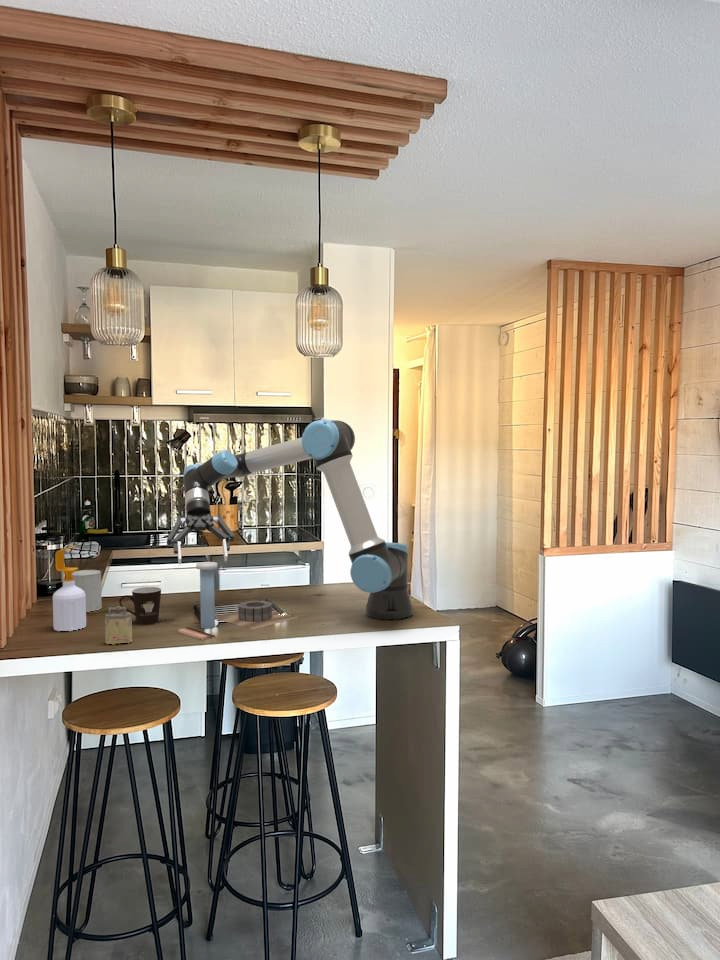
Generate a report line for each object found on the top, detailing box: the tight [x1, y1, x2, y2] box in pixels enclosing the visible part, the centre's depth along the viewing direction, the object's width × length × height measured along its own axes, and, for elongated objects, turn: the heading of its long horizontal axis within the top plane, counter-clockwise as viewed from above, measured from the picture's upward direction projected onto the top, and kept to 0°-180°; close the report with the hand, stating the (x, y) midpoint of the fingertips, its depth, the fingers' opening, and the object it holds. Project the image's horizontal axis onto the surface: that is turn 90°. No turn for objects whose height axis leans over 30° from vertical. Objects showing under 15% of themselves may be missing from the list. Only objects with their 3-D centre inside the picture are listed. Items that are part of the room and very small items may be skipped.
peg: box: [195, 561, 219, 630], centre depth 204 cm, size 6×6×19 cm
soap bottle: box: [52, 545, 87, 632], centre depth 208 cm, size 9×9×25 cm
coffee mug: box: [118, 586, 162, 626], centre depth 215 cm, size 12×9×10 cm
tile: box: [178, 626, 216, 641], centre depth 205 cm, size 12×12×1 cm
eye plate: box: [215, 600, 300, 630], centre depth 215 cm, size 20×18×6 cm
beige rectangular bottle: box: [104, 605, 133, 645], centre depth 194 cm, size 7×4×10 cm, turn 101°
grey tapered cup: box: [72, 569, 103, 613], centre depth 231 cm, size 10×10×12 cm
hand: (203, 560), depth 212 cm, fingers open, 13 cm apart
